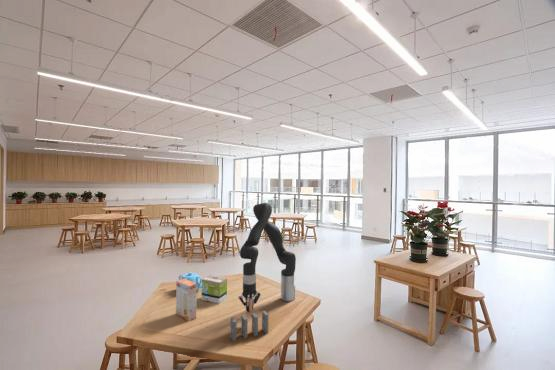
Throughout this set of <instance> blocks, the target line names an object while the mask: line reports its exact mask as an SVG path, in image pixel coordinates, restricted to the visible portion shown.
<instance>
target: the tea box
mask: <svg viewBox="0 0 555 370" xmlns="http://www.w3.org/2000/svg"><path fill="white" fill-rule="evenodd" d="M201 285H202V288H201V300H202V301H207V302H211V303H214V304H221V303H222V302H223V301H225V300H227V298H228V278H227V277H222V276H218V275H217V276H215V275H208V276H206V277H204V278H202V282H201Z"/></svg>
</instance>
